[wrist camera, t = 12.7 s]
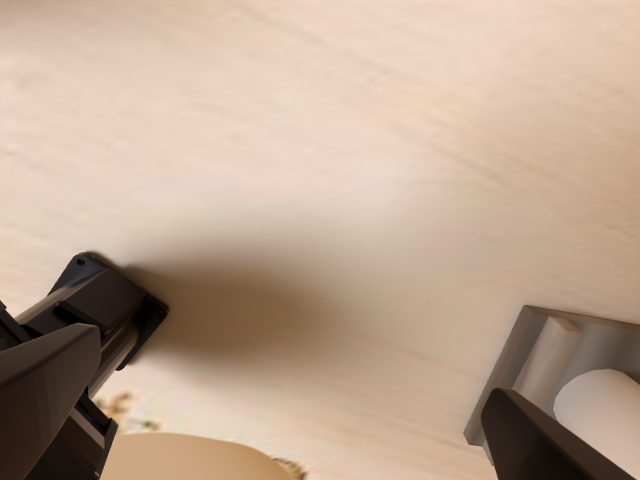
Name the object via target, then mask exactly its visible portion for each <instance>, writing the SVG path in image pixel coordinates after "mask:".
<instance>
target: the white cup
mask: <svg viewBox="0 0 640 480" xmlns="http://www.w3.org/2000/svg"><path fill="white" fill-rule="evenodd" d="M553 411H554V413H555V416H556V419H557V420H558V422H559V423H560V424H562V425H563V426H564V427H566V428H567V429H568V430H570V431H571V432H572V433H574V434H575V435H577V436H578V437H579V438H581V439H582V440H583V441H585V442H586V443H587V444H589V445H590V446H592V447H593V448H594V449H596V450H597V451H598V452H600V453H601V454H602V455H604V456H605V457H607V458H608V459H609V460H611V461H612V462H613V463H615V464H616V465H617V466H619V467H620V468H622V469H623V470H624V471H626V472H627V473H628V474H630V475H631V476H632V477H634V478H635V479H637V480H640V385H639V384H638V383H636V382H635V381H634V380H632V379H631V378H630V377H628V376H627V375H626V374H625V373H623V372H620V371H616V370H612V369H601V370H592V371H590V372H587V373H584V374H582V375H579V376H577V377H575V378H574V379H573V380H571V381H570V382H569V383H567V384H566V385H565V386H563V388H562V389H561V391H560V392H559V394H558V395H557V396H556V398H555V403H554V408H553Z"/></svg>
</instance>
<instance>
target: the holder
mask: <svg viewBox="0 0 640 480" xmlns="http://www.w3.org/2000/svg"><path fill="white" fill-rule="evenodd" d="M601 369H612V370H616V371H620V372H623V373H625V374H626V375H627V376H628V377H630V378H631V379H632V380H634V381H635V382H636V383H638V384H639V385H640V325H635V324H629V323H624V322H618V321H612V320H606V319H601V318H595V317H589V316H583V315H577V314H572V313H566V312H560V311H554V310H549V309H543V308H537V307H531V306H526V305H524V306H523V308H522V311H521V313H520V315H519V317H518V319H517V321H516V323H515V325H514V327H513V329H512V332H511V334H510V336H509V338H508V340H507V342H506V344H505V346H504V348H503V351H502V353H501V355H500V357H499V359H498V361H497V363H496V365H495V367H494V369H493V372H492V374H491V376H490V378H489V380H488V382H487V384H486V386H485V388H484V391H483V393H482V395H481V397H480V399H479V401H478V403H477V405H476V407H475V409H474V412H473V414H472V416H471V418H470V420H469V422H468V424H467V426H466V428H465V431H464V436H465V438H466V440H467V442H468V444H469V445H474V446H482V447H483V449H484V451H485V453H486V455H487V457H488V459H489V461H490V463H491V465H492V466H494V464H493V461H492V457H491V454H490V451H489V447H488V444H487V441H486V438H485V434H484V431H483V428H482V425H481V419H480V415H481V411H482V409H483V406H484V404H485V402H486V400H487V398H488V396H489V394H490V392H491V390H492V389H493V388H495V387H503V388H510V389H513V390H515V391H516V392H518V393H519V394H521V395H522V396H523V397H525V398H526V399H527V400H529V401H530V402H531V403H533V404H534V405H536V406H537V407H538V408H540V409H541V410H542V411H544V412H545V413H547V414H548V415H549V416H551V417H552V418H553V419H555V420H556V421H557V422H558V420H557V419H556V416H555V413H554V411H553V408H554V403H555V398H556V396H557V395H558V394H559V392H560V391H561V389H562V388H563V386H565V385H566V384H567V383H569V382H570V381H571V380H573V379H574V378H575V377H577V376H579V375H582V374H584V373H587V372H590V371H592V370H601Z"/></svg>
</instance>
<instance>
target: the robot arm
mask: <svg viewBox="0 0 640 480" xmlns="http://www.w3.org/2000/svg"><path fill="white" fill-rule="evenodd" d="M81 259H83V260H84V262H85V263H83V262H82V261H81ZM6 308H7V307H6V306H5V305H4V304H3V303H2V302H1V301H0V480H99V479H100V476H101V474H102V470H103V468H104V465H105V462H106V459H107V456H108V453H109V451H110V448H111V445H112V442H113V439H114V437H115V434H116V431H117V428H118V424H117V423H116V422H115V421H114V420H113V419H112V418H108V417H107V416H106V415H105V414H104V413H103V412H102V411H101V409H100V408H99V407H98V406H97V405H96V404H95V403H94V402H93V401H92V400H91V399H92V398H93V397H94V396H95V394H96V393H97V392H98V391H99V389H100V388H101V387H102V386H103V384H104V383H105V382H106V381H107V379H108V378H109V377H110V376H111V374H112V373H113V372H114V371H115V370H116V371H120V370H122V369H123V368H124V367H125V366H126V365H127V363H128V362H129V361H130V360H131V359H132V357H133V356H134V355H135V354H136V353H137V351H138V350H139V349H140V348H141V347H142V345H143V344H144V343H145V342H146V341H147V339H148V338H149V337H150V336H151V335H152V333H153V332H154V331H155V330H156V329H157V327H158V326H159V325H160V324H161V323H162V321H163V320H164V319H165V318H166V316H167V315H168V314H169V307H168V306H167V305H166V304H164V303H163V302H161V301H159V300H158V299H156V298H155V297H153V296H152V295H150V294H149V293H147V292H146V291H144V290H143V289H141V288H140V287H138V286H137V285H135V284H134V283H132V282H131V281H129V280H127V279H126V278H124V277H123V276H121V275H120V274H118V273H117V272H115V271H114V270H112V269H111V268H109V267H108V266H106V265H105V264H103V263H102V262H100V261H98V260H97V259H95V258H94V257H92V256H91V255H89V254H87V253H84V252H82V253H79V254H77V255H75V256H74V257H73V258H72V260H71V261H70V262H69V264H68V265H67V267H66V268H65V270H64V271H63V273H62V274H61V276H60V277H59V279H58V280H57V282H56V283H55V285H54V286H53V288H52V289H51V291H50V292H49V294H48V295H47V297H46V298H44V299H43V300H41V301H40V302H38V303H37V304H35V305H34V306H32V307H30V308H29V309H27V310H26V311H24V312H23V313H21V314H20V315H18V316H17V317H15V318H13V317H12V316H11V315H10V314H9V313H8V312H7V311H6V310H5V309H6ZM158 310H161V311H162V312H163V313H160V312H159V311H158ZM480 419H481V425H482V428H483V431H484V434H485V438H486V441H487V444H488V447H489V451H490V454H491V457H492V461H493V464H494V467H495V470H496V474H497V477H498V480H637V479H635V478H634V477H632V476H631V475H630V474H628V473H627V472H626V471H624V470H623V469H622V468H620V467H619V466H617V465H616V464H615V463H613V462H612V461H611V460H609V459H608V458H607V457H605V456H604V455H602V454H601V453H600V452H598V451H597V450H596V449H594V448H593V447H592V446H590V445H589V444H587V443H586V442H585V441H583V440H582V439H581V438H579V437H578V436H577V435H575V434H574V433H572V432H571V431H570V430H568V429H567V428H566V427H564V426H563V425H562V424H560V423H559V422H557V421H556V420H555V419H553V418H552V417H551V416H549V415H548V414H547V413H545V412H544V411H542V410H541V409H540V408H538V407H537V406H536V405H534V404H533V403H531V402H530V401H529V400H527V399H526V398H525V397H523V396H522V395H521V394H519V393H518V392H516V391H515V390H513V389H510V388H503V387H495V388H493V389H492V390H491V392H490V394H489V396H488V398H487V400H486V402H485V404H484V406H483V409H482V411H481V415H480Z"/></svg>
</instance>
